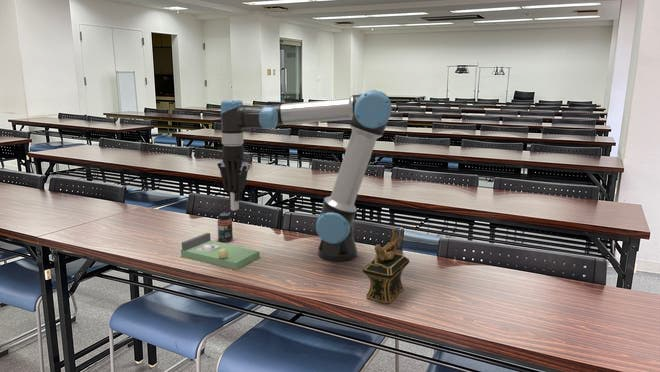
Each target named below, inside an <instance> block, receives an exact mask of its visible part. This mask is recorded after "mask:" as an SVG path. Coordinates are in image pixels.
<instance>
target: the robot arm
mask: <svg viewBox="0 0 660 372" xmlns="http://www.w3.org/2000/svg"><path fill="white" fill-rule="evenodd" d="M220 102H221V103H220V114H219V115H220V124H221V125H220V126H221V144H222V145H221V150H222V152H221V153H222V154H221V155H222V156H223V159H222V161H221V162H218V163H217V167H218V169H219V172H220V177H221V181H222V185H223V189H224V190H226V191H227V192H228V200H229V201H230V210H231V211H237V210H239V209H240V206H239V205H240V203H239V201H241V196H240V195H241V192H243V191H244V190H245V188H246V185H247V178H248V173H249V170H250V168H251V166H250V165H249V164H248V165H247V163H245V160H244V155H245V146H244V145H243V144H244V142H245V141H244V129H261V130H262V129H263V130H269V129H276V128H277V126H281V125H291V124H292V125H295V124H308V123H321V122H322V123H323V122H334V121H335V122H336V121H349V120H350V123H349V127H350V129H351V134H350V138H349V140H348V143H347V145H346V149H345V153H344V155H343V158H342V162H341V164H340V168H339V171H338V173H337V176H336V180H335V182H334V186H333V189H332V192H331V194H330V196H326V197H324V198H323V202H322V207H321V210H320V214H319V216H318V218H317V219H316V223H315V231H316V233H317V235H318V237H319V238H320V239H321V240H320V243H319V245H318V248H317V249H318V250H317V255H318V257H320V258H321V259H322V260H326V261H331V262H347V261H346V260H348V261H351V260H353V258H354V259H356V257H357V256H358V248H357V245H356V241H355V239H354V219H355V215H356V213H357V207H356V205H355V203H356V200H357V196H358V194H359V191H360V187H361V185H362V182H363V179H364V176H365V175H366V172H367V168H368V165H369V162H370V159H371V158H372V157H371V156H372V154H373V150H374V147H375V145H376V142H377V140H378V139H379V138H381V137H383V136H384V132H385V130H386V126H387V124H388V121H389V119H390V117H391V116H392V115H391V114H392V111H393V110H392V101H391V100H390V98H389V97H388V95H387V94H385V93H384V92H383V91H379V90H375V89H374V90H373V89H371V90H368V91H365V92H362V93H360V94H351V95H350V97H349V98H338V99H327V100H316V101H304V102H303V101H302V102H291V103H281V104H280V103H279V104H267V105H261V106H246V105H244V103H243V101H242V100H236V99H229V100H228V99H227V100H225V99H223V100H222V101H220Z"/></svg>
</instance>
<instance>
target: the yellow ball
mask: <svg viewBox="0 0 660 372" xmlns="http://www.w3.org/2000/svg"><path fill="white" fill-rule="evenodd" d="M218 256H219V257H220V258H226V257H227V256H228V251H227V249H225V248H222V249H220V250H219V251H218Z"/></svg>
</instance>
